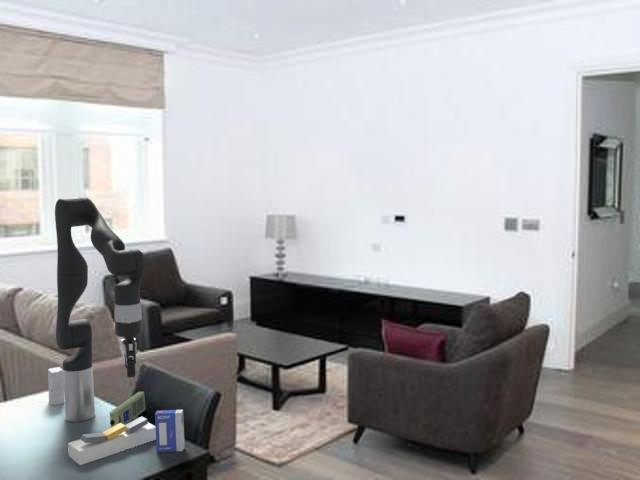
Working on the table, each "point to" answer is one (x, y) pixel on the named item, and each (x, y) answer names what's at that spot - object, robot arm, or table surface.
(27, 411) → the table surface
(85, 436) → the grey flat block
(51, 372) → the skincare box
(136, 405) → the handheld radio
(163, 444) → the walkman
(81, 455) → the power strip
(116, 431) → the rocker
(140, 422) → the block
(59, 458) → the table surface
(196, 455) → the table surface
